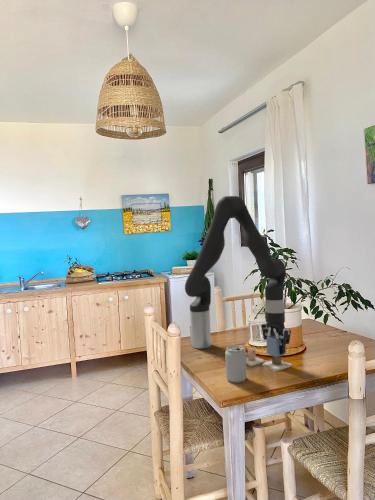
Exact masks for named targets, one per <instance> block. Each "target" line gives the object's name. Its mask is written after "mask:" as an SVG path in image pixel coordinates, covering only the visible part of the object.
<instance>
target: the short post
mask: <svg viewBox="0 0 375 500" xmlns="http://www.w3.org/2000/svg"><path fill="white" fill-rule="evenodd" d="M263 363H265V359H263V358H260V357H257V356H256V350H255V349H254V348H249V349H247V356H246V365H249V366H250V367H253V366H256V365H259V364H263Z"/></svg>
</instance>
